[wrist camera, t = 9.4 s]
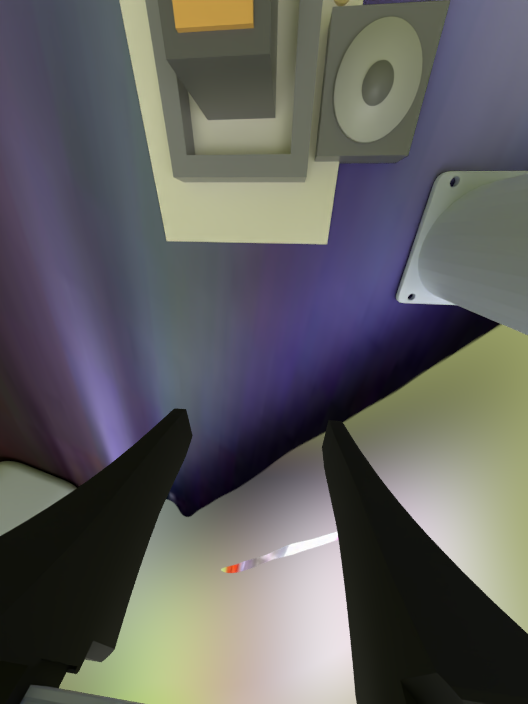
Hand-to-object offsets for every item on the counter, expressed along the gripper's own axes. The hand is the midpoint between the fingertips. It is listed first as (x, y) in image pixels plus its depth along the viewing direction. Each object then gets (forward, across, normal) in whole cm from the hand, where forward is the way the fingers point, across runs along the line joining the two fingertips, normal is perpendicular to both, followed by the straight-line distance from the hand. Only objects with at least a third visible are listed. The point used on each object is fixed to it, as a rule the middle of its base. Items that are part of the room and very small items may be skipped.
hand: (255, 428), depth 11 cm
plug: (+10, +2, -16) cm, 19 cm away
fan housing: (+10, -5, -15) cm, 19 cm away
